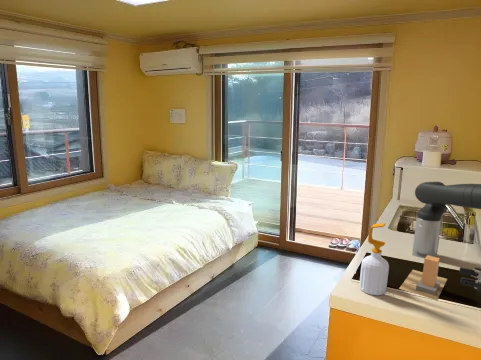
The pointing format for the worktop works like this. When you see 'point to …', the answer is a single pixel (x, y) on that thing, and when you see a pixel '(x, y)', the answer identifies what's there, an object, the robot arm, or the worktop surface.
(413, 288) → the oak board
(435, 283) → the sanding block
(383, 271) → the soap bottle
